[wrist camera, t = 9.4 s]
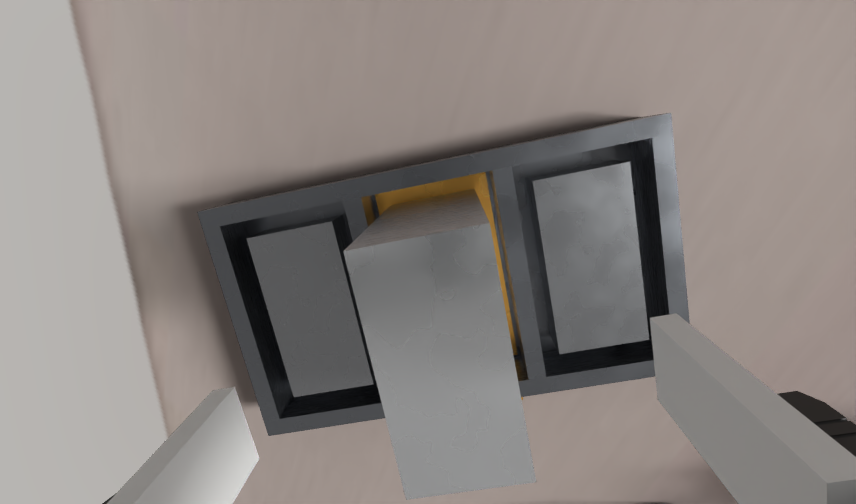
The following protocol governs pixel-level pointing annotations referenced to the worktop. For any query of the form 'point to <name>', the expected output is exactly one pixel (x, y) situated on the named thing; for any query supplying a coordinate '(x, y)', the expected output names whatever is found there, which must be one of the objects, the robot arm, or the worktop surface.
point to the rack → (515, 254)
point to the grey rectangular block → (441, 346)
